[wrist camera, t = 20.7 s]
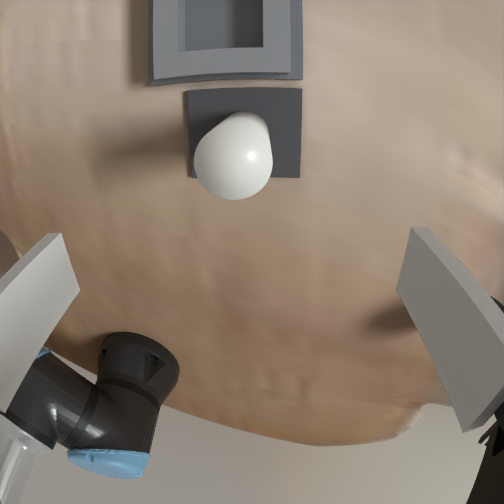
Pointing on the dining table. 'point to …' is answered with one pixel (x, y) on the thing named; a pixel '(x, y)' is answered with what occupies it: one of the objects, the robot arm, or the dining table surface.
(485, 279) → the dining table surface
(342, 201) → the dining table surface
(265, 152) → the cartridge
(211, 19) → the housing
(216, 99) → the mat
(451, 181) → the dining table surface
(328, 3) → the dining table surface
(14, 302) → the robot arm
